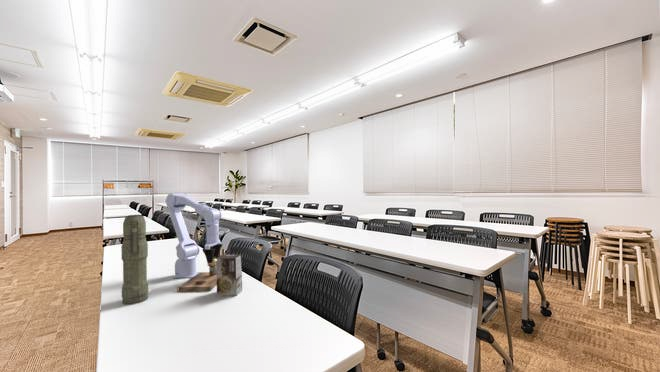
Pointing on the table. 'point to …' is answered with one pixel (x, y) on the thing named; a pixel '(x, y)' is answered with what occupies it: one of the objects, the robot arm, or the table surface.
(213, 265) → the gold rounded piece
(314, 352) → the table surface
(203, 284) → the board
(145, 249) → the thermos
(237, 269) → the coffee box
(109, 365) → the table surface
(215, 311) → the table surface
